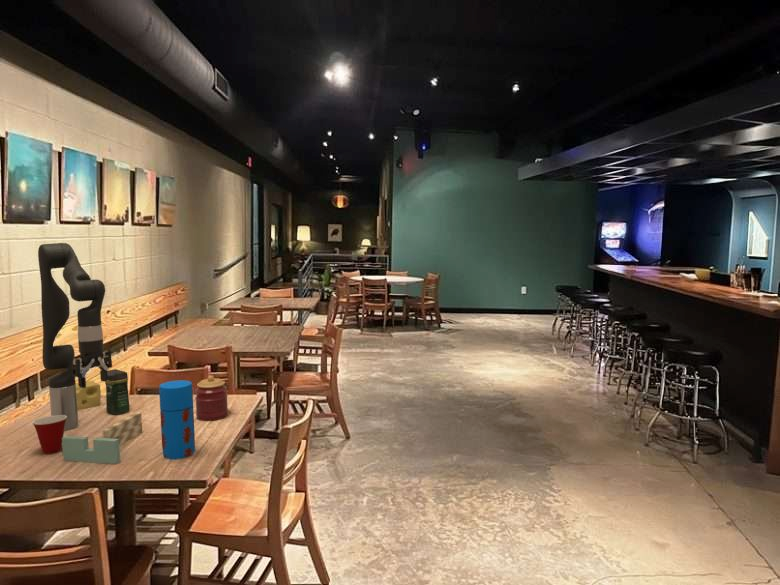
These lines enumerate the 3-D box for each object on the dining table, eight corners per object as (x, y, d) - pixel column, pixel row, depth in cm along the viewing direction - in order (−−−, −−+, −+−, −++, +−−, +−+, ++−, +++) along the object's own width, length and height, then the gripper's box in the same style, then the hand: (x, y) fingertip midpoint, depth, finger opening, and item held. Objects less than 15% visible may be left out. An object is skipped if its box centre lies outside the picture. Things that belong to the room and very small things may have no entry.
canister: (222, 421, 234) (221, 379, 232) (191, 421, 234) (189, 379, 232) (232, 411, 247) (230, 371, 245) (202, 411, 247) (200, 371, 245)
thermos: (157, 453, 200) (153, 384, 198) (185, 445, 208) (182, 378, 205) (171, 462, 193) (168, 390, 190) (200, 453, 201) (197, 384, 198)
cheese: (76, 410, 249) (74, 388, 248) (69, 405, 257) (68, 383, 255) (101, 405, 256) (100, 384, 254) (94, 400, 264) (93, 379, 262)
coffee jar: (132, 411, 247) (130, 370, 245) (114, 416, 241) (112, 373, 238) (121, 407, 253) (119, 366, 251) (103, 412, 247) (101, 370, 244)
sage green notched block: (63, 460, 195) (61, 437, 194) (67, 458, 197) (66, 435, 196) (116, 463, 192) (115, 441, 191) (120, 461, 194) (118, 438, 193)
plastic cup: (65, 442, 211) (63, 411, 210) (72, 450, 203) (70, 418, 202) (31, 450, 204) (28, 417, 203) (37, 459, 196) (35, 425, 195)
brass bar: (109, 452, 202) (108, 430, 201) (104, 451, 202) (103, 430, 201) (142, 432, 222) (141, 412, 221) (137, 432, 222) (136, 412, 221)
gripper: (99, 333, 202) (102, 378, 204) (64, 341, 189) (67, 388, 191) (115, 335, 199) (118, 380, 201) (80, 343, 186) (83, 391, 188)
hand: (93, 384), depth 196 cm, fingers open, 8 cm apart
